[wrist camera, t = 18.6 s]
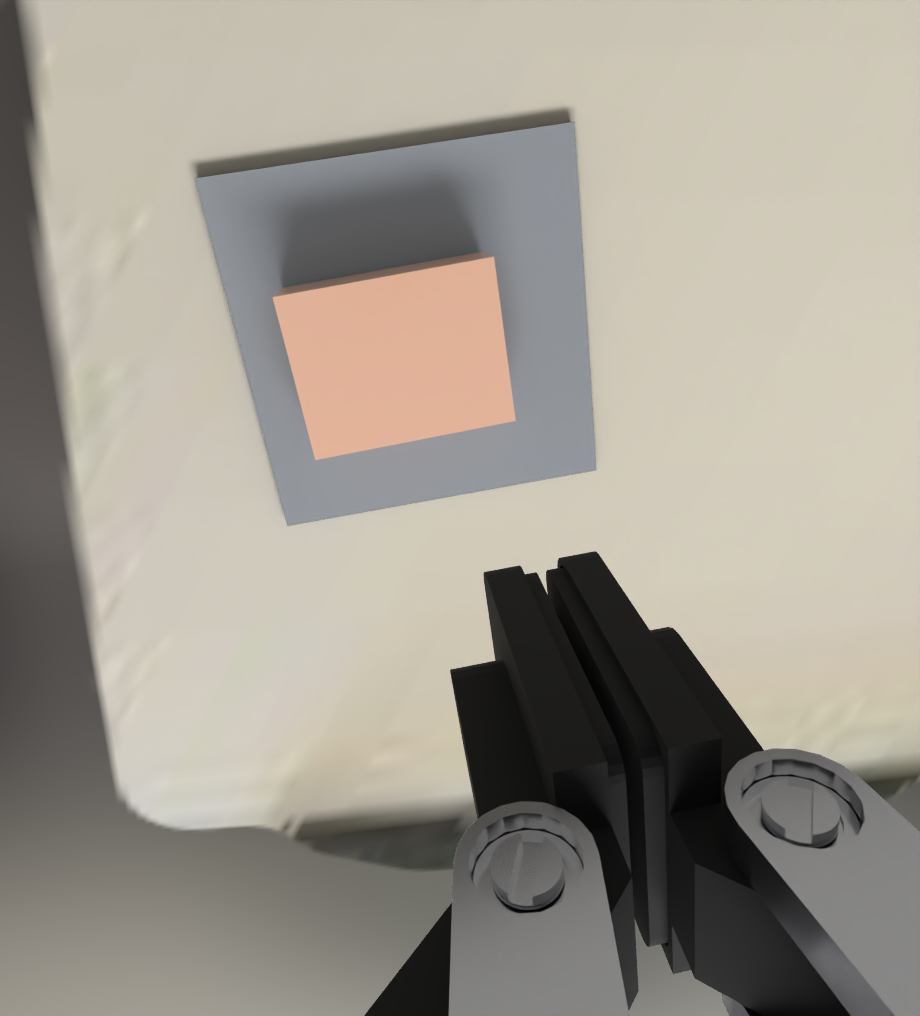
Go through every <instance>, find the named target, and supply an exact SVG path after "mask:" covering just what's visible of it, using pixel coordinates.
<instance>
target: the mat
mask: <svg viewBox="0 0 920 1016" xmlns="http://www.w3.org/2000/svg"><path fill="white" fill-rule="evenodd" d="M195 182H196V186H197V190H198V193H199V197H200V201H201V205H202V208H203V212H204V216H205V220H206V223H207V227H208V231H209V234H210V238H211V242H212V246H213V249H214V253H215V257H216V261H217V264H218V268H219V272H220V276H221V279H222V283H223V287H224V291H225V294H226V298H227V302H228V306H229V309H230V313H231V317H232V321H233V324H234V328H235V332H236V335H237V339H238V343H239V347H240V350H241V354H242V358H243V362H244V365H245V369H246V373H247V377H248V380H249V384H250V388H251V392H252V395H253V399H254V403H255V407H256V410H257V414H258V418H259V421H260V425H261V429H262V433H263V436H264V440H265V444H266V448H267V451H268V455H269V459H270V463H271V466H272V470H273V474H274V478H275V481H276V485H277V489H278V493H279V496H280V500H281V504H282V508H283V511H284V515H285V519H286V522H287V526H291V525H296V524H302V523H307V522H313V521H318V520H324V519H329V518H335V517H340V516H346V515H352V514H357V513H363V512H368V511H374V510H379V509H385V508H390V507H396V506H401V505H407V504H412V503H418V502H423V501H429V500H434V499H440V498H446V497H451V496H457V495H462V494H468V493H473V492H479V491H484V490H490V489H495V488H501V487H506V486H512V485H517V484H523V483H529V482H534V481H540V480H545V479H551V478H556V477H562V476H567V475H573V474H578V473H584V472H589V471H595V470H596V456H595V440H594V424H593V408H592V393H591V377H590V361H589V345H588V329H587V313H586V297H585V281H584V265H583V250H582V234H581V218H580V202H579V186H578V170H577V154H576V138H575V122H570V123H563V124H556V125H550V126H543V127H536V128H530V129H523V130H516V131H509V132H503V133H496V134H489V135H483V136H476V137H469V138H462V139H456V140H449V141H442V142H436V143H429V144H422V145H415V146H409V147H402V148H395V149H389V150H382V151H375V152H368V153H362V154H355V155H348V156H342V157H335V158H328V159H321V160H315V161H308V162H301V163H295V164H288V165H281V166H274V167H268V168H261V169H254V170H248V171H241V172H234V173H227V174H221V175H214V176H207V177H201V178H195ZM476 252H485V253H487V254H489V255H491V256H494V260H495V268H496V276H497V283H498V291H499V298H500V306H501V313H502V321H503V328H504V336H505V343H506V351H507V359H508V366H509V374H510V381H511V389H512V396H513V404H514V411H515V419H516V421H513V422H508V423H502V424H497V425H492V426H487V427H482V428H477V429H472V430H467V431H462V432H457V433H451V434H446V435H441V436H436V437H431V438H426V439H421V440H416V441H411V442H406V443H400V444H395V445H390V446H385V447H380V448H375V449H370V450H365V451H360V452H355V453H349V454H344V455H339V456H334V457H329V458H324V459H319V460H315V457H314V453H313V450H312V446H311V442H310V438H309V434H308V431H307V427H306V423H305V419H304V415H303V411H302V408H301V404H300V400H299V396H298V392H297V389H296V385H295V381H294V377H293V373H292V370H291V366H290V362H289V358H288V354H287V351H286V347H285V343H284V339H283V335H282V331H281V328H280V324H279V320H278V316H277V312H276V309H275V305H274V301H273V296H274V295H275V294H276V292H277V291H278V290H279V289H280V288H284V287H290V286H295V285H301V284H306V283H312V282H317V281H323V280H328V279H334V278H339V277H345V276H350V275H356V274H361V273H367V272H372V271H378V270H383V269H388V268H394V267H399V266H405V265H410V264H416V263H421V262H427V261H432V260H438V259H443V258H449V257H454V256H460V255H465V254H471V253H476Z"/></svg>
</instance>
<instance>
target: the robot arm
mask: <svg viewBox="0 0 920 1016" xmlns="http://www.w3.org/2000/svg"><path fill="white" fill-rule="evenodd" d="M546 581H547V591H548V595H547V593H546V591H545V589H544V587H543V584H542V582H541V580H540V578H539V576H538V574H537V573H536V572H535V573H530V574H524V572H523V569H522V568H521V566H515V567H509V568H504V569H499V570H494V571H488V572H484V584H485V591H486V598H487V605H488V612H489V619H490V626H491V633H492V640H493V647H494V654H495V660H496V661H492V662H487V663H482V664H477V665H472V666H467V667H462V668H457V669H452V670H450V672H451V678H452V684H453V689H454V695H455V701H456V706H457V712H458V717H459V723H460V728H461V734H462V739H463V745H464V750H465V755H466V761H467V766H468V771H469V777H470V782H471V787H472V792H473V797H474V803H475V808H476V813H477V818H478V819H477V820H476V821H475V822H474V823H473V824H472V825H471V826H470V827H469V828H468V829H467V830H466V832H465V833H464V835H463V837H462V839H461V840H460V842H459V844H458V845H457V849H456V854H455V859H454V864H453V887H452V890H453V891H452V903H451V904H450V906H449V907H448V908H447V910H446V911H445V912H444V914H443V915H442V916H441V917H440V919H439V920H438V921H437V923H436V924H435V925H434V926H433V928H432V929H431V930H430V932H429V933H428V934H427V935H426V937H425V938H424V939H423V941H422V942H421V944H419V946H418V947H417V948H416V950H415V951H414V952H413V954H412V955H411V956H410V958H409V959H408V960H407V961H406V963H405V964H404V965H403V966H402V968H401V969H400V970H399V972H398V973H397V974H396V976H395V977H394V978H393V980H392V981H391V982H390V983H389V985H388V986H387V987H386V988H385V990H384V991H383V992H382V994H381V995H380V996H379V997H378V999H377V1000H376V1001H375V1003H374V1004H373V1005H372V1007H371V1008H370V1009H369V1010H368V1012H367V1013H366V1014H365V1016H629V1009H630V1007H631V1005H632V1003H633V1001H634V999H635V997H636V995H637V993H638V976H637V958H636V940H635V922H634V917H635V920H636V922H637V925H638V928H639V930H640V933H641V935H642V937H643V940H644V942H645V943H646V945H647V946H648V947H650V946H654V945H659V944H661V945H662V948H663V950H664V953H665V955H666V958H667V960H668V963H669V965H670V967H671V970H672V972H673V974H674V973H679V972H683V971H688V970H692V973H693V975H694V977H695V979H697V980H699V981H701V982H703V983H704V984H706V985H708V986H710V987H712V988H714V989H715V990H717V991H719V992H721V994H722V1000H723V1003H724V1006H725V1008H726V1010H727V1012H728V1014H729V1016H920V832H919V831H918V830H917V829H915V828H914V827H913V826H912V825H911V824H910V823H909V822H908V821H907V820H906V819H904V818H903V817H902V816H901V815H900V814H899V813H898V812H897V811H896V810H895V809H894V808H892V807H891V806H890V805H889V804H888V803H887V802H886V801H885V800H884V799H883V798H881V797H880V796H879V795H878V794H877V793H876V792H875V791H874V790H873V789H872V788H870V787H869V786H868V785H867V784H866V783H865V782H864V781H863V780H862V779H861V778H859V777H858V776H856V775H855V774H854V773H852V772H851V771H850V770H848V769H847V768H845V767H844V766H843V765H841V764H839V763H837V762H835V761H832V760H830V759H828V758H826V757H823V756H821V755H819V754H815V753H810V752H806V751H802V750H798V749H769V750H763V748H762V747H761V746H760V744H759V743H758V742H757V740H756V739H755V737H754V736H753V735H752V733H751V732H750V731H749V729H748V728H747V727H746V725H745V724H744V722H743V721H742V720H741V718H740V717H739V716H738V714H737V713H736V712H735V710H734V709H733V707H732V706H731V705H730V703H729V702H728V701H727V699H726V698H725V697H724V695H723V694H722V692H721V691H720V690H719V688H718V687H717V686H716V684H715V683H714V681H713V680H712V679H711V677H710V676H709V675H708V673H707V672H706V671H705V669H704V668H703V666H702V665H701V664H700V662H699V661H698V660H697V658H696V657H695V656H694V654H693V653H692V651H691V650H690V649H689V647H688V646H687V645H686V643H685V642H684V641H683V639H682V638H681V636H680V635H679V634H678V633H677V632H676V631H675V630H674V629H673V628H670V627H666V628H661V629H655V630H649V629H648V627H647V626H646V624H645V623H644V621H643V620H642V618H641V617H640V615H639V614H638V612H637V611H636V609H635V608H634V606H633V605H632V603H631V602H630V600H629V599H628V597H627V596H626V594H625V593H624V591H623V590H622V588H621V587H620V585H619V584H618V582H617V581H616V579H615V578H614V576H613V575H612V573H611V572H610V570H609V569H608V567H607V566H606V565H605V563H604V562H603V560H602V559H601V557H600V556H599V554H598V553H597V552H589V553H584V554H579V555H573V556H568V557H563V558H559V559H558V568H557V569H551V570H547V572H546Z"/></svg>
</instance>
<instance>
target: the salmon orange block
mask: <svg viewBox="0 0 920 1016" xmlns="http://www.w3.org/2000/svg"><path fill="white" fill-rule="evenodd" d="M273 301H274V305H275V309H276V312H277V316H278V320H279V324H280V328H281V331H282V335H283V339H284V343H285V347H286V351H287V354H288V358H289V362H290V366H291V370H292V373H293V377H294V381H295V385H296V389H297V392H298V396H299V400H300V404H301V408H302V411H303V415H304V419H305V423H306V427H307V431H308V434H309V438H310V442H311V446H312V450H313V453H314V457H315V460H319V459H324V458H329V457H334V456H339V455H344V454H349V453H355V452H360V451H365V450H370V449H375V448H380V447H385V446H390V445H395V444H400V443H406V442H411V441H416V440H421V439H426V438H431V437H436V436H441V435H446V434H451V433H457V432H462V431H467V430H472V429H477V428H482V427H487V426H492V425H497V424H502V423H508V422H513V421H516V419H515V411H514V404H513V396H512V389H511V381H510V374H509V366H508V359H507V351H506V343H505V336H504V328H503V321H502V313H501V306H500V298H499V291H498V283H497V276H496V268H495V260H494V256H491V255H489V254H487V253H485V252H476V253H471V254H465V255H460V256H454V257H449V258H443V259H438V260H432V261H427V262H421V263H416V264H410V265H405V266H399V267H394V268H388V269H383V270H378V271H372V272H367V273H361V274H356V275H350V276H345V277H339V278H334V279H328V280H323V281H317V282H312V283H306V284H301V285H295V286H290V287H284V288H280V289H279V290H278V291H277V292H276V294H275V295H274V296H273Z"/></svg>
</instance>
